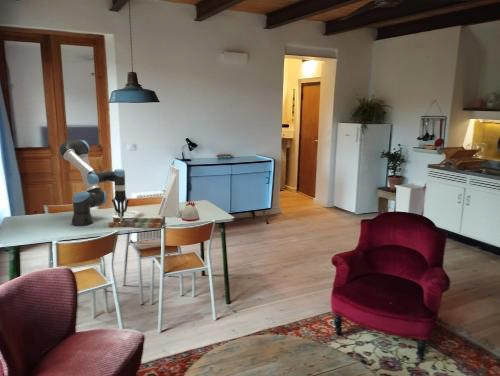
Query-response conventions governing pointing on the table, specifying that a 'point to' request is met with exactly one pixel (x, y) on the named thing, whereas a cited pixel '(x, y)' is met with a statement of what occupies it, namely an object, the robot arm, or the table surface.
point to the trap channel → (139, 223)
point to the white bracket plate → (171, 196)
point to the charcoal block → (129, 221)
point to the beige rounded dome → (190, 212)
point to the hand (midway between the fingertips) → (121, 220)
